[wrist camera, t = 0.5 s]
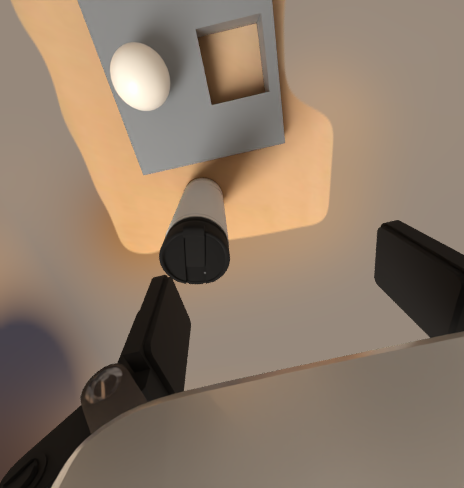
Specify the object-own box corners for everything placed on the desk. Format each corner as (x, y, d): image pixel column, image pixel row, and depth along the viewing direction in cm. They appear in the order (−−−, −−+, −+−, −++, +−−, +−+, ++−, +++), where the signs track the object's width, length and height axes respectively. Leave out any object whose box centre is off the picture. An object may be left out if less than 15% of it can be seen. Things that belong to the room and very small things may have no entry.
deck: (82, -11, 26) (67, -26, 23) (259, -56, 25) (265, -77, 23) (148, 171, 35) (143, 175, 33) (279, 141, 35) (284, 143, 32)
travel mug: (223, 175, 36) (233, 227, 19) (222, 216, 40) (229, 292, 22) (182, 174, 36) (152, 225, 18) (184, 215, 39) (160, 293, 21)
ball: (112, 57, 27) (88, 42, 21) (164, 45, 26) (151, 26, 21) (133, 116, 29) (116, 115, 24) (180, 105, 29) (173, 102, 24)
